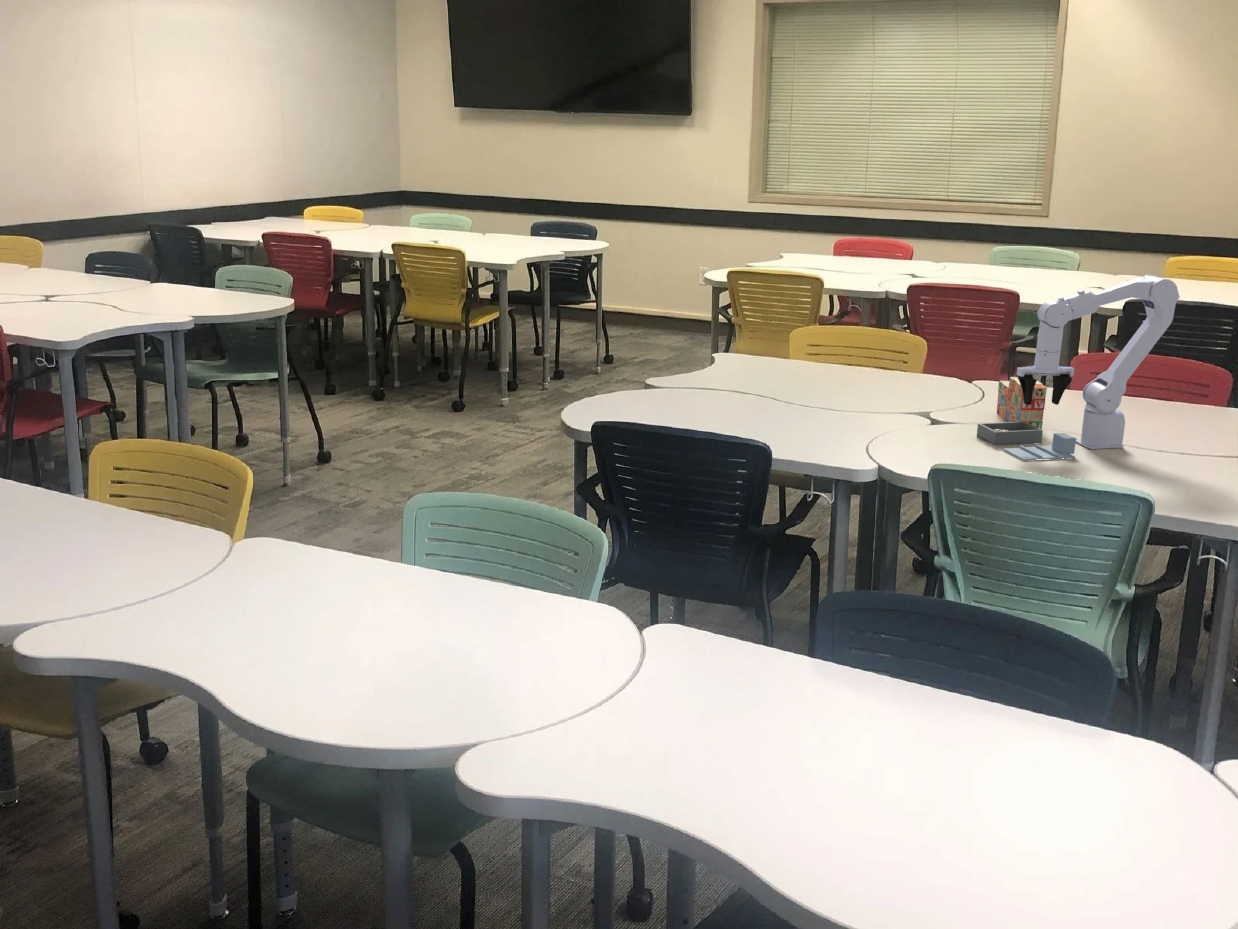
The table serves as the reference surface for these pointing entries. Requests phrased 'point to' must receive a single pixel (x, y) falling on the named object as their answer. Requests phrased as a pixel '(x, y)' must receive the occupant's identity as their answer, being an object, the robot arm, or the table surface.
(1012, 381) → the stack of blocks
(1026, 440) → the tub
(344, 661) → the table surface
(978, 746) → the table surface
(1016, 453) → the lid
